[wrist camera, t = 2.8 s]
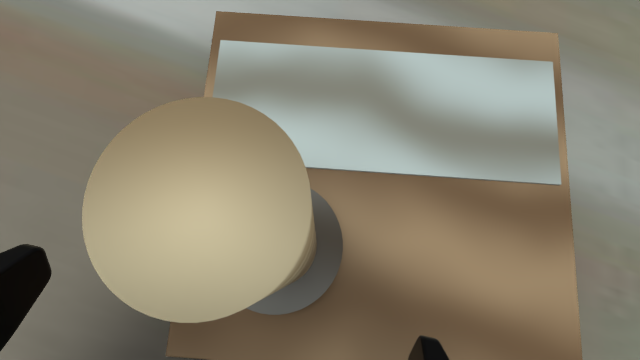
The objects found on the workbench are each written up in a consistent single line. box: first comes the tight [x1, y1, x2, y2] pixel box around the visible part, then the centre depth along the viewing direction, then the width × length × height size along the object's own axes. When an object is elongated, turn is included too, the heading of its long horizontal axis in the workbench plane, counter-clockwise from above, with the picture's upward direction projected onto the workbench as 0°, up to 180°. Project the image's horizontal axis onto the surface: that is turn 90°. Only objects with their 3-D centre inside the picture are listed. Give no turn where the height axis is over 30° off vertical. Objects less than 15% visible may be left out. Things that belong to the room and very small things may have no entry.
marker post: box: [82, 97, 343, 323], centre depth 11 cm, size 6×6×12 cm
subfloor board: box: [166, 11, 582, 360], centre depth 19 cm, size 17×18×1 cm
